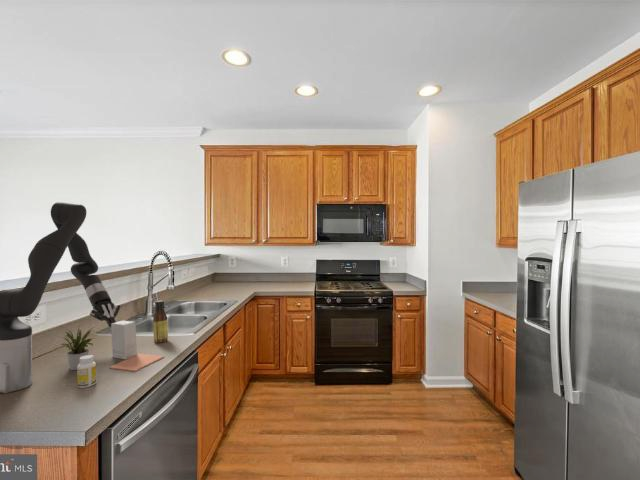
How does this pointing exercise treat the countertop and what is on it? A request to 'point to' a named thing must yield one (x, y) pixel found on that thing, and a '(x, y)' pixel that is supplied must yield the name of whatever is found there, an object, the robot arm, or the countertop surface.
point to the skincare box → (124, 339)
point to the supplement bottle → (86, 372)
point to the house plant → (76, 348)
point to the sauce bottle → (160, 323)
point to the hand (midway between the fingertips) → (113, 325)
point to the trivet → (137, 362)
